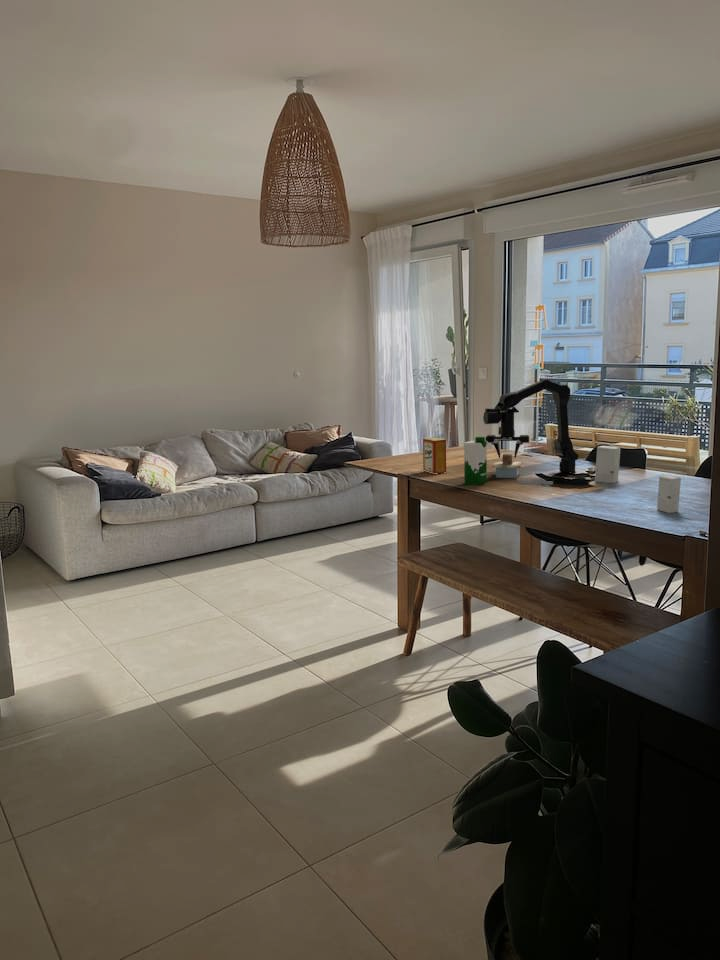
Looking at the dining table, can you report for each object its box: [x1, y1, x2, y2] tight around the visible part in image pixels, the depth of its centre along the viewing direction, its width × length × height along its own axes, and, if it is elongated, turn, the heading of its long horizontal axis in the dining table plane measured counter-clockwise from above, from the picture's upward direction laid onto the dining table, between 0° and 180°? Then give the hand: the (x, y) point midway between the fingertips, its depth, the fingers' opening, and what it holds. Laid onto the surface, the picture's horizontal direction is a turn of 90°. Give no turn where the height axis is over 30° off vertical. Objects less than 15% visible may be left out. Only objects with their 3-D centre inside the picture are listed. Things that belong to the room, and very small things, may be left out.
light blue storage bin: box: [495, 468, 519, 479], centre depth 334 cm, size 9×9×5 cm
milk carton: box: [462, 436, 488, 486], centre depth 320 cm, size 9×9×20 cm
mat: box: [517, 477, 554, 486], centre depth 321 cm, size 14×14×1 cm
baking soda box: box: [422, 437, 447, 474], centre depth 350 cm, size 10×6×16 cm
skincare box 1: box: [594, 445, 621, 484], centre depth 315 cm, size 8×6×15 cm
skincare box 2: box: [656, 474, 682, 514], centre depth 261 cm, size 6×4×12 cm
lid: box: [492, 453, 523, 469], centre depth 333 cm, size 12×12×5 cm
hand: (507, 458), depth 333 cm, fingers open, 6 cm apart
